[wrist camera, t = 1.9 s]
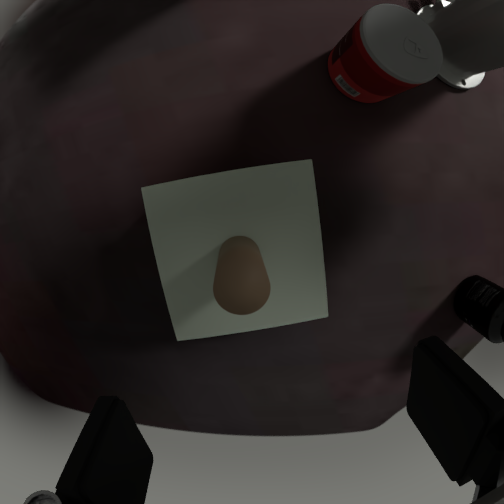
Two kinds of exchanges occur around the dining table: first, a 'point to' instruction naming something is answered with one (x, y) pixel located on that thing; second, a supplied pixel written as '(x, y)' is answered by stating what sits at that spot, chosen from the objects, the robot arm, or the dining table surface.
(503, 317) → the supplement bottle
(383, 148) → the dining table surface
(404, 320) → the dining table surface
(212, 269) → the lid
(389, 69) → the canned food
